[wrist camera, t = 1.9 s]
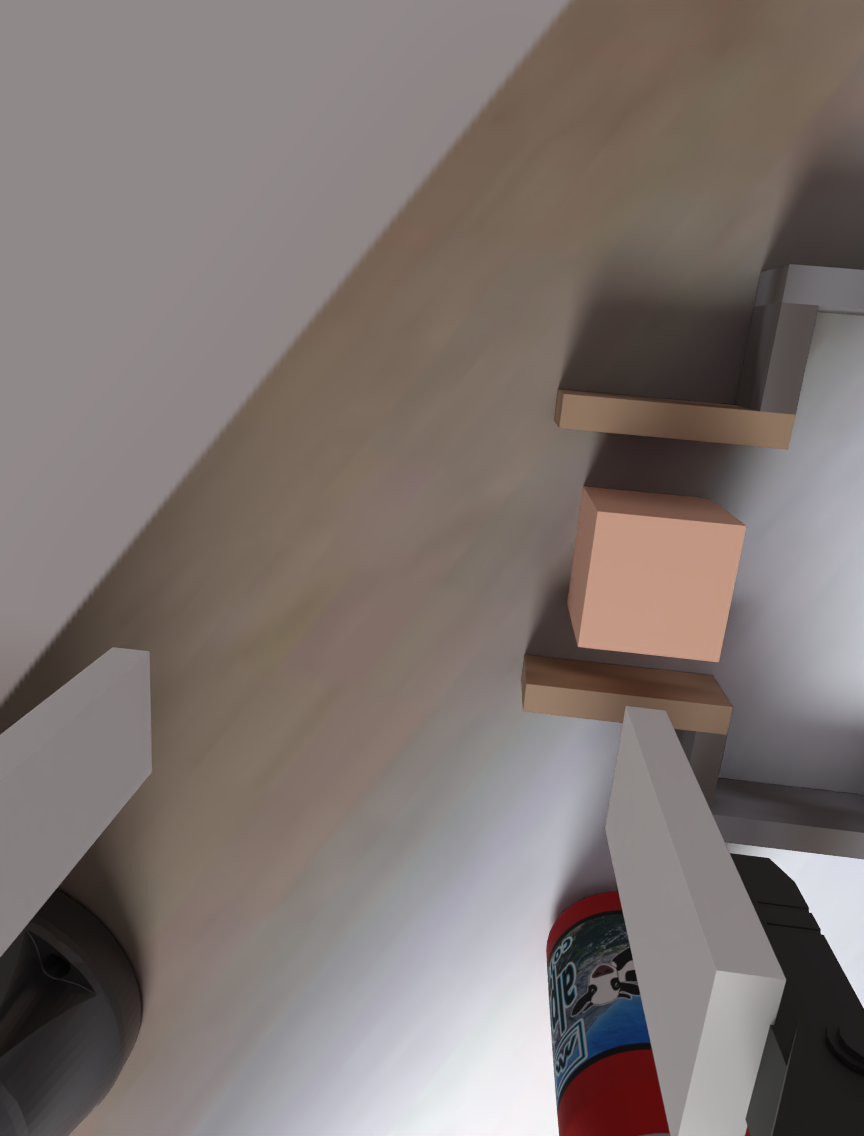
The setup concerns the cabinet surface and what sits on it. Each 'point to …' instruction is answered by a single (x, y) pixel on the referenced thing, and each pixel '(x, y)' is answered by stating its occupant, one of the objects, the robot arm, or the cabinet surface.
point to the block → (653, 573)
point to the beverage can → (600, 1027)
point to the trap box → (698, 698)
